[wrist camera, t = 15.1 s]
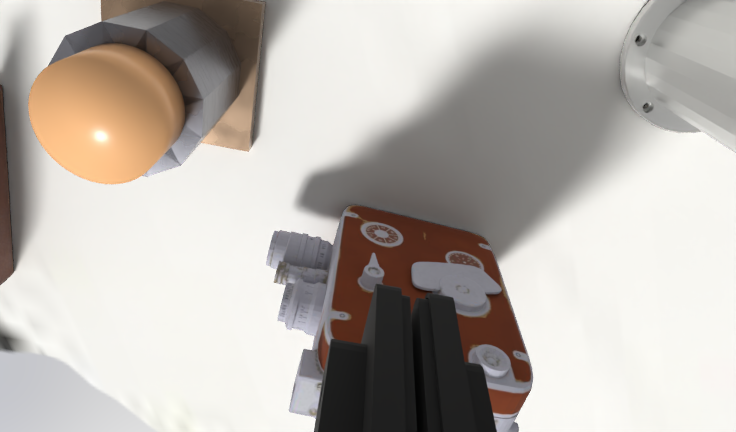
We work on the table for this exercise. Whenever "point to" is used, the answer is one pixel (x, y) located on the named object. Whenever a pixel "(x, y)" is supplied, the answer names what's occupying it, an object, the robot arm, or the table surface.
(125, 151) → the cap
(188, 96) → the top hat
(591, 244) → the table surface
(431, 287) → the cine camera
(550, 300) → the table surface
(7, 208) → the letter holder
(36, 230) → the table surface
